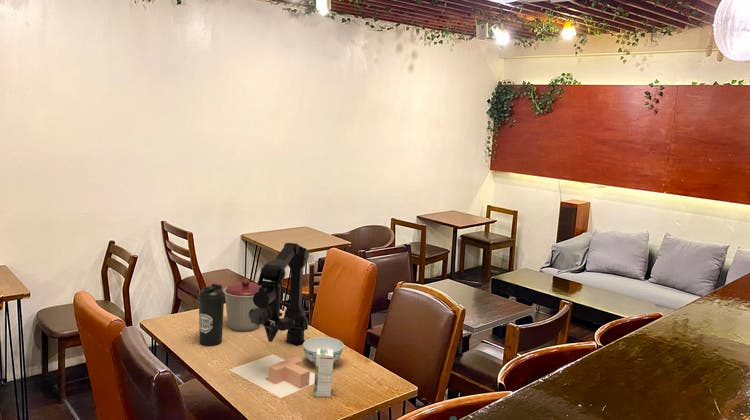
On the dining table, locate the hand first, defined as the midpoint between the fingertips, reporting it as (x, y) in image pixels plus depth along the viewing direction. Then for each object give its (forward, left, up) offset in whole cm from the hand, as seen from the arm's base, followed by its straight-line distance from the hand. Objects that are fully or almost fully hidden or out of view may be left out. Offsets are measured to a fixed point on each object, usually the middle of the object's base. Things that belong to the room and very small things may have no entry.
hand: (270, 341), depth 201 cm
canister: (-19, -40, -11) cm, 46 cm away
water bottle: (+1, -35, -11) cm, 37 cm away
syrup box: (-2, +25, -11) cm, 27 cm away
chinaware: (-18, +9, -11) cm, 23 cm away
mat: (+1, +5, -11) cm, 12 cm away
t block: (0, +12, -10) cm, 16 cm away
